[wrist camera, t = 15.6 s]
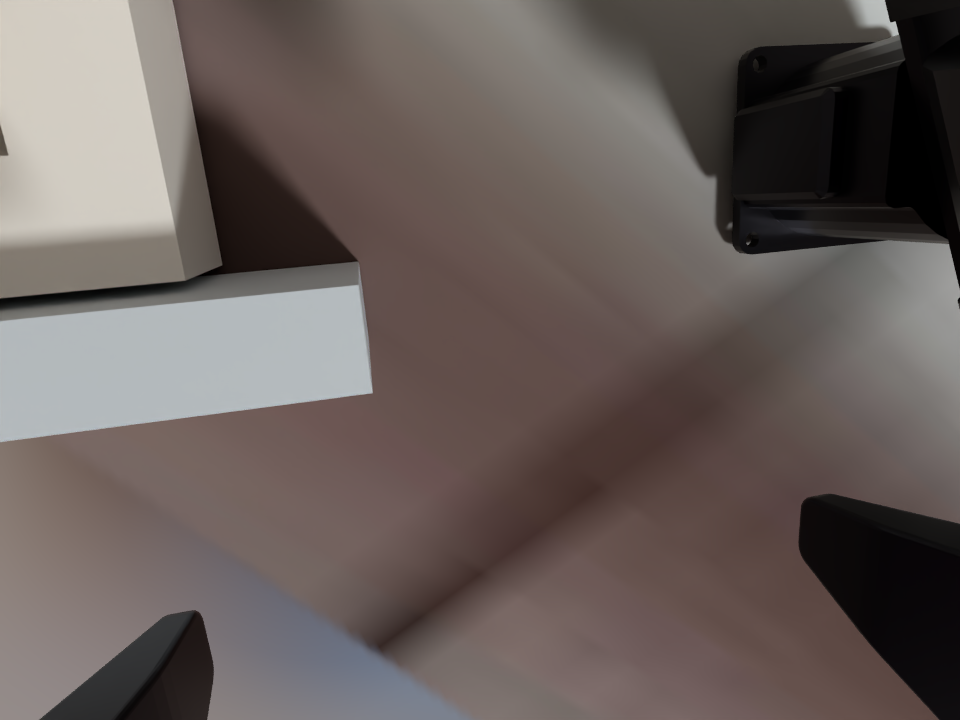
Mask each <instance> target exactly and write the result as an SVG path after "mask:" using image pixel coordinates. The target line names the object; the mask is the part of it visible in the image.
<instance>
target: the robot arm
mask: <svg viewBox="0 0 960 720" xmlns="http://www.w3.org/2000/svg"><path fill="white" fill-rule="evenodd" d="M885 2H886V6H887V11H888V15H889V19H890V22H894V21H896V24H897V28H898V33H899V35H897V36H894V37H891V38H887V39H884V40H881V41H878V42H867V43H842V44H816V45H791V46H765V47H758V48H754V49H752V50H750V51H747V52H746V53H745V54H744V55H742V57H741V59H740V61H739V65H738V84H737V114H736V117H735V118H734V140H733V170H732V194H733V196H734V203H733V233H732V242H733V247H734V248H735V250H736V251H738V252H739V253H745V254H760V253H770V252H779V251H789V250H799V249H808V248H818V247H827V246H837V245H847V244H856V243H866V242H876V241H885V240H893V241H909V242H925V243H942V244H949V246H950V250H951V254H952V258H953V263H954V267H955V271H956V275H957V279H958V284H959V288H960V0H885ZM754 59H756V60H757V61H758V62H759V69H758V72H756V71H755V70H754V69H753V61H754ZM749 233H750V234H751V236H752V240H751V243H750V244H749V245H747V244H746V237H747V235H748V234H749ZM958 304H959V308H960V298H959V299H958ZM799 550H800V553H801V556H802V558H803V560H804V561H805V563H806V564H807V565H808V566H809V568H810V569H811V570H812V572H813V573H814V574H815V575H816V577H817V578H818V579H819V580H820V582H821V583H822V584H823V586H824V587H825V588H826V589H827V591H828V592H829V593H830V595H831V596H832V597H833V598H834V600H835V601H836V602H837V604H838V605H839V606H840V607H841V609H842V610H843V611H844V612H845V614H846V615H847V616H848V618H849V619H850V620H851V621H852V623H853V624H854V625H855V627H856V628H857V629H858V630H859V632H860V633H861V634H862V635H863V637H864V638H865V639H866V640H867V641H868V643H869V644H870V645H871V646H872V647H873V648H874V649H875V651H876V652H877V653H878V654H879V655H880V656H881V657H882V658H883V660H884V661H885V662H886V663H887V664H888V665H889V666H890V667H891V668H892V669H893V670H894V671H895V673H896V674H897V675H898V676H899V677H900V678H901V679H902V680H903V681H904V682H905V683H906V684H907V685H908V687H909V688H910V689H911V690H912V691H913V692H914V693H915V694H916V695H917V696H918V697H919V698H920V699H921V701H922V702H923V703H924V704H925V705H926V706H927V707H928V708H929V709H930V710H931V711H932V712H933V714H934V715H935V716H936V717H937V718H938V719H939V720H960V524H959V523H955V522H950V521H946V520H942V519H938V518H933V517H929V516H925V515H921V514H916V513H912V512H908V511H903V510H899V509H895V508H891V507H886V506H882V505H878V504H873V503H869V502H865V501H861V500H856V499H852V498H848V497H843V496H839V495H835V494H823V495H818V496H813V497H808V498H806V499H805V500H804V501H803V503H802V505H801V514H800V528H799ZM213 675H214V667H213V660H212V655H211V651H210V647H209V643H208V638H207V634H206V630H205V625H204V621H203V618H202V616H201V614H200V613H199V612H197V611H196V610H192V611H186V612H181V613H176V614H170V615H167V616H165V617H163V618H162V619H160V620H159V621H158V622H157V623H156V624H154V625H153V626H152V627H151V628H150V629H148V630H147V631H146V632H145V633H143V634H142V635H141V636H140V637H139V638H137V639H136V640H135V641H134V642H132V643H131V644H130V645H129V646H128V647H126V648H125V649H124V650H123V651H122V652H120V653H119V654H118V655H117V656H116V657H115V658H113V659H112V660H111V661H110V662H108V663H107V664H106V665H105V666H104V667H102V668H101V669H100V670H99V671H98V672H96V673H95V674H94V675H93V676H92V677H90V678H89V679H88V680H87V681H85V682H84V683H83V684H82V685H81V686H79V687H78V688H77V689H76V690H75V691H73V692H72V693H71V694H70V695H69V696H67V697H66V698H65V699H64V700H63V701H61V702H60V703H59V704H58V705H56V706H55V707H54V708H53V709H52V710H50V711H49V712H48V713H47V714H46V715H44V716H43V717H42V718H41V719H40V720H207V717H208V711H209V704H210V698H211V691H212V685H213Z"/></svg>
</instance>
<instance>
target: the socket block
mask: <svg viewBox="0 0 960 720" xmlns="http://www.w3.org/2000/svg"><path fill="white" fill-rule="evenodd" d="M219 266H222V260H221V255H220V249H219V244H218V239H217V233H216V228H215V223H214V218H213V212H212V207H211V202H210V196H209V191H208V186H207V180H206V175H205V170H204V165H203V159H202V154H201V149H200V143H199V138H198V133H197V127H196V122H195V117H194V112H193V106H192V101H191V96H190V90H189V85H188V80H187V74H186V69H185V64H184V59H183V53H182V48H181V43H180V37H179V32H178V27H177V22H176V16H175V11H174V6H173V0H0V298H8V297H19V296H29V295H40V294H50V293H61V292H71V291H82V290H92V289H103V288H113V287H124V286H134V285H145V284H155V283H166V282H177V281H186V280H188V279H191V278H193V277H195V276H198V275H200V274H203V273H205V272H207V271H210V270H212V269H214V268H217V267H219Z"/></svg>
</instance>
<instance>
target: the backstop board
mask: <svg viewBox="0 0 960 720" xmlns="http://www.w3.org/2000/svg"><path fill="white" fill-rule="evenodd" d="M369 393H373V392H372V379H371V365H370V351H369V338H368V330H367V322H366V315H365V307H364V299H363V291H362V284H361V276H360V268H359V261H358V262H348V263H337V264H327V265H316V266H305V267H295V268H284V269H274V270H263V271H253V272H242V273H231V274H221V275H210V276H200V277H193V278H191V279H188V280H186V281H177V282H166V283H155V284H145V285H134V286H124V287H113V288H103V289H92V290H82V291H71V292H61V293H50V294H40V295H29V296H19V297H8V298H0V442H3V441H11V440H19V439H26V438H34V437H42V436H49V435H57V434H64V433H72V432H80V431H87V430H95V429H102V428H110V427H118V426H125V425H133V424H141V423H148V422H156V421H163V420H171V419H179V418H186V417H194V416H201V415H209V414H217V413H224V412H232V411H240V410H247V409H255V408H262V407H270V406H278V405H285V404H293V403H300V402H308V401H316V400H323V399H331V398H339V397H346V396H354V395H361V394H369Z"/></svg>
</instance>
